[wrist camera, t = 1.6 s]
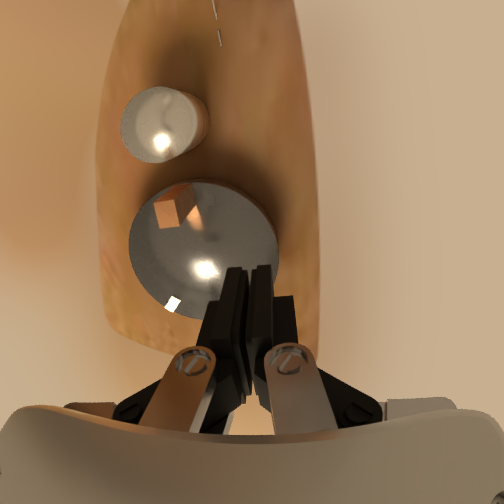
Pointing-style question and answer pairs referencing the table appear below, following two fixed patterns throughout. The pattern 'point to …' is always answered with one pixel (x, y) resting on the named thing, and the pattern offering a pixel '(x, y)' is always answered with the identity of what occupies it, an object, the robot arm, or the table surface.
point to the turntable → (198, 242)
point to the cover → (163, 124)
